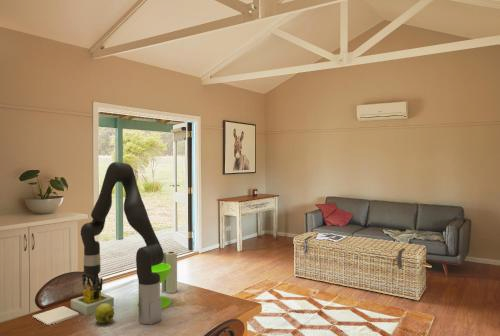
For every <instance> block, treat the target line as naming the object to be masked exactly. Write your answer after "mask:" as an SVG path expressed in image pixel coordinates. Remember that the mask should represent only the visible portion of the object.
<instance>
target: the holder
mask: <svg viewBox="0 0 500 336" xmlns="http://www.w3.org/2000/svg"><path fill="white" fill-rule="evenodd" d="M114 298H115V297H113V296H110V295H108V294H106V293H102V292H101V300H100V301H97V302H94V303H91V304H86V303H84V295H82V296H79V297H75V298H72V299H70V309H71V310H73V311H75V312H78V313H79V314H80V313H81V314H83V315H84V316H89V315H93V314H95V311H96V309H97V307H98V306H99V305H101V304H104V303H108V304H110V305H111V306H112V307H114V306H115V305H114V304H115V303H114V302H115V301H114V300H115V299H114Z"/></svg>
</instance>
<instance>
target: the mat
mask: <svg viewBox="0 0 500 336" xmlns="http://www.w3.org/2000/svg"><path fill="white" fill-rule="evenodd" d="M78 316H80V312H78V311H76V310H74V309H72V308H70V307H67V306H64V305H63V306H58V307H56V308H52V309H50V310H47V311H43V312H40V313H36V314H33V315H32V318H33V317H34V318H36V319H37V320H39V321H41V322H43V323H44V324H43V323H42V324H43V325H45V324H46V325H50V326H52V325H51V324H53V325H55V323H56V324H58V323H61V322H64V321H66V320H70V319H73V318H77V317H78ZM34 318H33V319H34ZM36 319H35V320H36ZM37 320H36V321H37ZM39 321H38V322H39ZM41 322H40V323H41ZM46 325H45V326H46Z"/></svg>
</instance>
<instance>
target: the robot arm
mask: <svg viewBox="0 0 500 336" xmlns="http://www.w3.org/2000/svg"><path fill="white" fill-rule="evenodd" d="M134 171H135V170H134V168H133V166H132V165H130V164H129V163H126V162H119V161H114V162H112V163H110V164H109V165H108V167H107V169H106V172H105V175H104V179H103V182H102V186H101V188H100V191H99V195H98V199H97V200H96V203H95V205H94V207H93V208H92V211H91V214H90V216H91V218H92V221H90V222H86V223H84V224H83V225H82V226H81V229H80V237H81V240H82V244H83V273H82V275H81V277H82V279H81V280H82V286H83V288H84V285H87V284H91V286H92V287H93V289H94V299H95V300H96V299H99V291H100V290H101V291H102V290H103V279H104V278H103V277H99V273H101V251H100V250H101V246H100V242H99V241H98V240H95V239H96V238H95V237H96V236H99V235H101V234H102V232H103V230H104V227H105V224H106V218H107V217H108V214H109V213H110V210H111V208H112V205H113V191H114V187H115V186H116V184H117V183H121V185H122V186H123V189H124V193H125V196H124V202H123V211H124V215H125V217H126V220H127V223H128V224H129V226H130V227H132V229H133V230H134V231H136V233H138V234H139V235H140V237H142V239H143V242H144V243H145V246H141V247H139V248H138V249H137V251H136V253H135V262H136V266H135V267H136V275H137V280H138V303H139V307H138V322H139V324H143V325H154V324H156V323H158V322H160V321H162V319H163V318H162V309H161V299H160V296H161V283H160V275H159V274H158V273H154V272H152V269H151V266H155V265H158V264H160V263H162V262H163V259H164V253H165V252H164V249H163V247H162V245H161V243H160V241H159V238H158V237H157V235H156V233H155V230H154V228H153V225H152V223H151V221H150V218H149V214H148V212H147V210H146V207H145V204H144V201H143V198H142V196H141V193H140V190H139V186H138V184H137V180H136V175H135V172H134ZM94 284H96V285H94ZM99 286H100V288H99ZM95 287H96V288H95Z"/></svg>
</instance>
